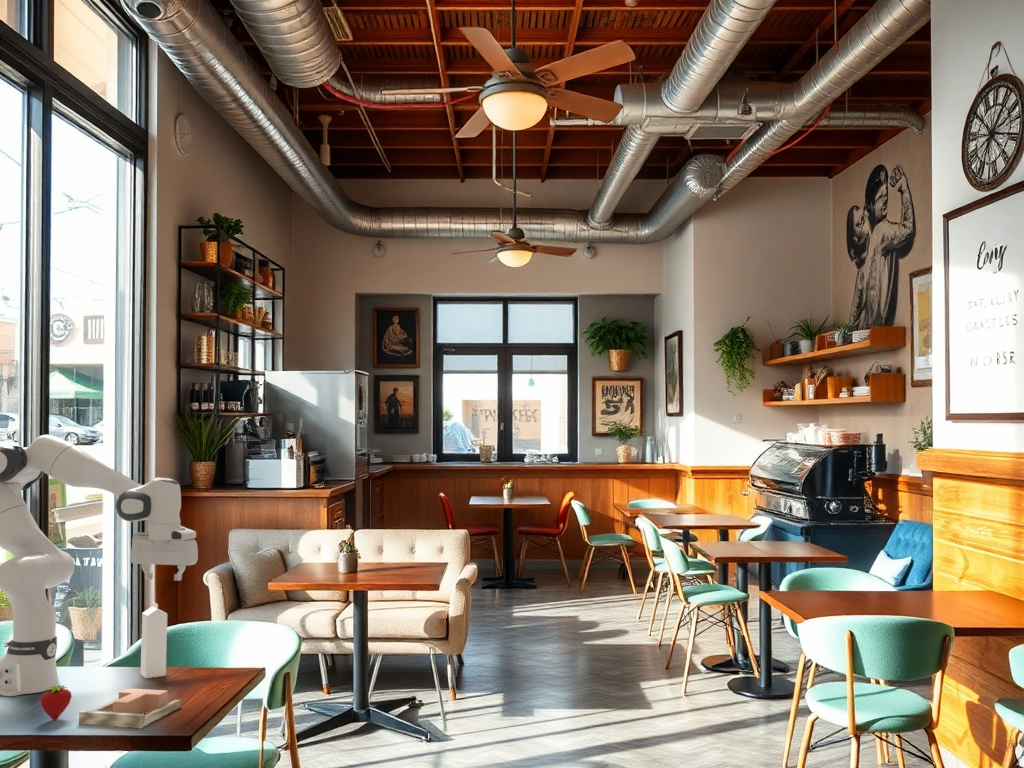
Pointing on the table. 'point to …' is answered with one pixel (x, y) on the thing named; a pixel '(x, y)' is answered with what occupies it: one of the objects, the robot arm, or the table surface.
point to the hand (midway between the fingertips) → (163, 579)
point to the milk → (153, 642)
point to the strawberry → (55, 701)
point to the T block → (140, 701)
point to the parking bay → (124, 716)
